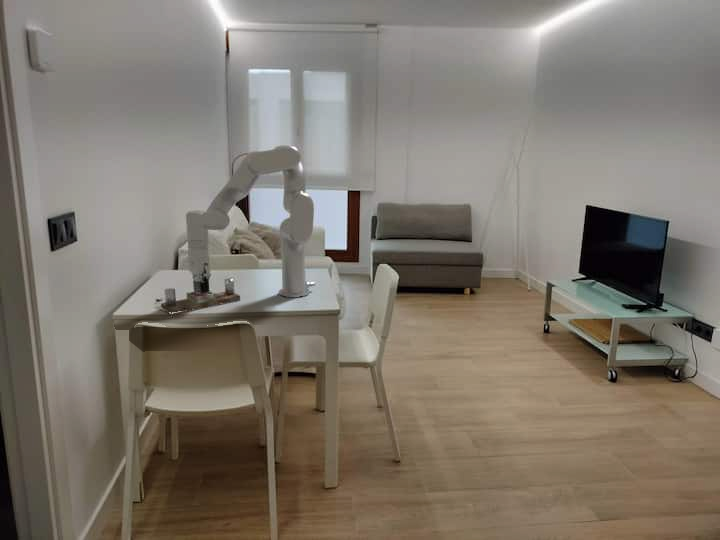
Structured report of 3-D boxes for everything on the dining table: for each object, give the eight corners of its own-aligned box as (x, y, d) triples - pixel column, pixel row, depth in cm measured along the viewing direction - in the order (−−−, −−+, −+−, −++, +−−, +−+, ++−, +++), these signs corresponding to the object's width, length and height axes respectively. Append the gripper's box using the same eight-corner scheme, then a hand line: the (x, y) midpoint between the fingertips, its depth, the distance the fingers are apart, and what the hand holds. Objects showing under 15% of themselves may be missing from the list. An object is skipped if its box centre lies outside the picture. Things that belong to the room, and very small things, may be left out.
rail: (229, 295, 218) (228, 284, 217) (240, 300, 211) (239, 289, 210) (161, 308, 200) (160, 297, 199) (171, 314, 193) (170, 302, 192)
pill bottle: (204, 298, 202) (203, 273, 200) (191, 297, 203) (190, 272, 201) (211, 294, 207) (209, 270, 205) (198, 293, 208) (196, 269, 206)
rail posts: (231, 292, 215) (231, 277, 214) (236, 294, 213) (235, 279, 211) (164, 305, 198) (163, 289, 196) (168, 307, 195) (167, 291, 194)
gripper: (179, 241, 204) (182, 287, 208) (199, 248, 192) (202, 296, 196) (197, 239, 209) (200, 284, 213) (218, 245, 196) (221, 293, 201)
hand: (201, 289), depth 204 cm, fingers closed on pill bottle, 5 cm apart
